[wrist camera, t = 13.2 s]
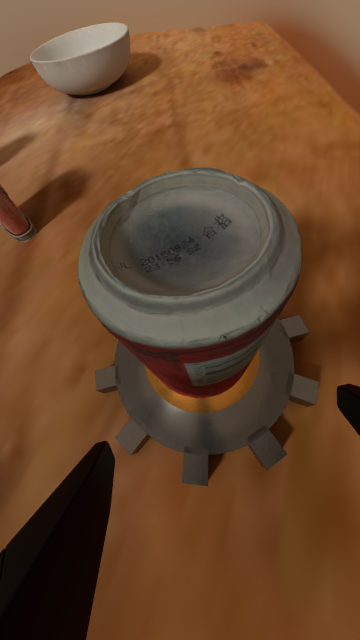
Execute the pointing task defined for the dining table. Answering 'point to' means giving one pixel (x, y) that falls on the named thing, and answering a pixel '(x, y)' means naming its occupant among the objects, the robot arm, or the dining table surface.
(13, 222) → the lighter
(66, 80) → the serving bowl
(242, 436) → the sprocket plate
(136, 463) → the dining table surface
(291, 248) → the soda can
